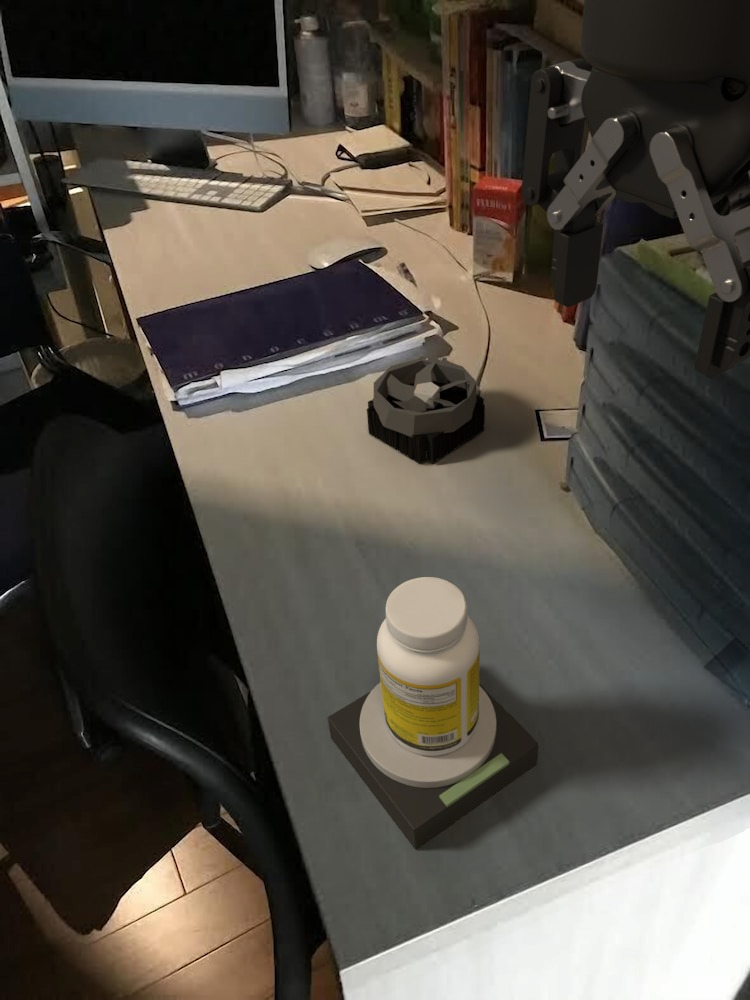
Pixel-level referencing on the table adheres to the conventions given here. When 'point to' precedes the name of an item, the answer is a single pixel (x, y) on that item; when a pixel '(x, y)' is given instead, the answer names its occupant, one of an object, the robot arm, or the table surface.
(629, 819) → the table surface
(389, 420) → the cpu cooler
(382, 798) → the scale
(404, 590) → the pill bottle
